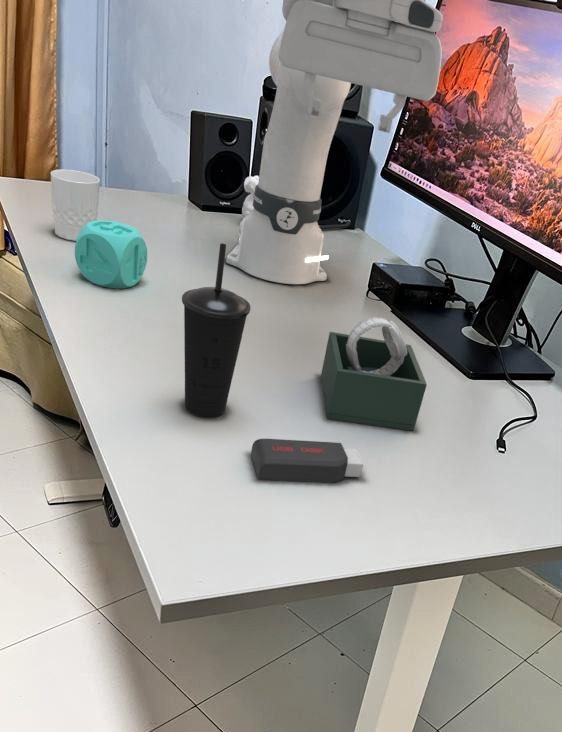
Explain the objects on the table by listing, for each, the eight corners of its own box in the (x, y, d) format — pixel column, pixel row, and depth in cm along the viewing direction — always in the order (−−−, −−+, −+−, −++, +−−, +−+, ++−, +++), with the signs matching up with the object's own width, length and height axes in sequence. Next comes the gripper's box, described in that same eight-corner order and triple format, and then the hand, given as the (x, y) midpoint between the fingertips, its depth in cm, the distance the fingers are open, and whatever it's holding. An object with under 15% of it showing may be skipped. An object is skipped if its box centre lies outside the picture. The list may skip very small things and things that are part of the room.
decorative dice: (118, 292, 118) (120, 240, 113) (73, 277, 119) (74, 225, 115) (146, 281, 124) (149, 231, 120) (103, 266, 126) (105, 217, 121)
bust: (244, 228, 170) (219, 182, 161) (272, 208, 170) (248, 162, 162) (264, 246, 161) (239, 199, 153) (293, 226, 162) (269, 178, 154)
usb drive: (250, 454, 87) (253, 433, 85) (350, 459, 91) (355, 439, 89) (257, 479, 83) (261, 458, 81) (361, 483, 87) (367, 463, 85)
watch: (398, 407, 103) (420, 331, 97) (344, 406, 100) (363, 327, 94) (382, 388, 107) (401, 313, 101) (330, 386, 104) (346, 309, 98)
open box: (320, 376, 108) (329, 331, 104) (399, 388, 110) (410, 344, 107) (327, 418, 98) (337, 370, 94) (413, 431, 100) (427, 384, 96)
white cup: (63, 225, 139) (63, 166, 133) (105, 235, 139) (107, 178, 133) (42, 234, 132) (42, 174, 126) (87, 246, 132) (88, 185, 126)
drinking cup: (166, 393, 94) (180, 229, 83) (226, 393, 98) (247, 236, 87) (180, 424, 89) (196, 253, 78) (243, 423, 92) (267, 259, 81)
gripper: (285, -25, 88) (268, 107, 95) (456, 19, 91) (425, 144, 98) (287, -24, 93) (270, 101, 100) (448, 17, 96) (420, 136, 104)
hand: (348, 123), depth 99 cm, fingers open, 8 cm apart
